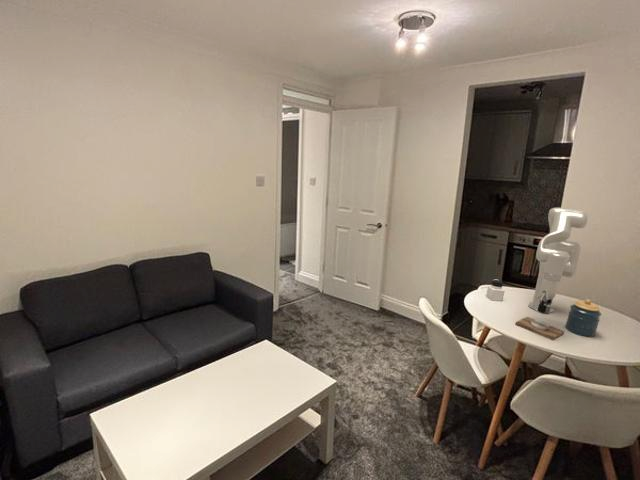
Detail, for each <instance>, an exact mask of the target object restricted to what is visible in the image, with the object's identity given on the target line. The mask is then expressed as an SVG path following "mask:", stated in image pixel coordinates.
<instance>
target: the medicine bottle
mask: <svg viewBox="0 0 640 480" xmlns="http://www.w3.org/2000/svg"><path fill="white" fill-rule="evenodd" d="M503 285H504V282H503V281H502V280H500V279H492V280H491V284H490V285H487V289H486V294H485V296H486V297H487V298H488V299H489V300H490V301H493V302H495V301H496V302H503V299H504V295H505V289H504V288H503Z"/></svg>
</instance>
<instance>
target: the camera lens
mask: <svg viewBox="0 0 640 480" xmlns="http://www.w3.org/2000/svg"><path fill="white" fill-rule="evenodd" d="M550 308H552V304H550V303H548V302H547V304H546V310H545V313H542V312H539V311H537V312H538V314H539V313H540V314H542V315H545V316H547V315H550V313H549V312H550Z"/></svg>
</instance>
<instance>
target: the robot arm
mask: <svg viewBox="0 0 640 480" xmlns="http://www.w3.org/2000/svg"><path fill="white" fill-rule="evenodd" d="M547 217H548V218H547V220H548V224H549V225H548V226H549V233H548V234H546V235H545V236H543V237H542V238H541V240H540V241H539V243H538V245H537V250H536V253H535V254H536V255H535V258H536V260H537V261H538V262H539V268H538V270H539V271H538V275H537V276H538V277H537V280H536V285H535V289H534V294H533V298H532V302H529V303H528V307H529V308H531V309H532V310H534V311H537V312H538V311H539V312H542V313H545V310H546V304H547V302H548V303H550V304H551V305H552V304H553V300H554V299H555V297H556V295H557V292H558V289H559V288H558V286H559V283H561V280H562V277H565V278H573V277H574V276H575V275H576V272H577V268H578V264H579V259H580V254H581V245H580V243H579V242H576V241H571V240H568V239H569V238H570V237H571V232H572V228H575V229H580V230H581V229H585V227H586V226H587V224H588V214H587V212H586V211H585V210H583V209H581V210H580V209H574V208H567V207H552V208H550V209H549V211H548V215H547ZM545 246H546V247H545ZM539 312H538V313H539ZM553 312H554V308H552V307H551V308H550V312H549V314H552V313H553Z"/></svg>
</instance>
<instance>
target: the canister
mask: <svg viewBox="0 0 640 480" xmlns="http://www.w3.org/2000/svg"><path fill="white" fill-rule="evenodd" d="M569 307H570V310H569V311H568V315H567V318H566V322H565V329H567V330H568V331H569V332H571V333H574V334H576V335H579V336H583V337H588V338H589V337H594V336H596V334H597V329H598V326H599V322H600V317H601V315H602V312H600V311H601V307H599V306H598V305H597V304H596V303H593V302H592V300H591V299H588V298H587V299H586V298H585V300H581V299H580V300H575V301H573V304H571V305H570V306H569Z"/></svg>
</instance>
